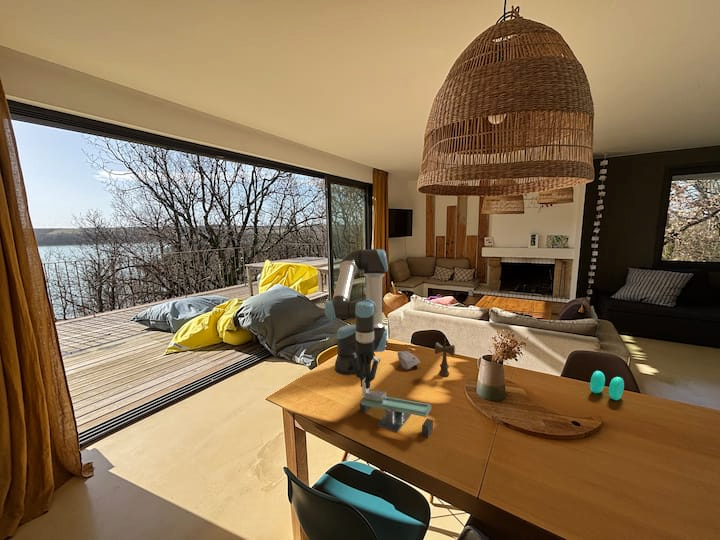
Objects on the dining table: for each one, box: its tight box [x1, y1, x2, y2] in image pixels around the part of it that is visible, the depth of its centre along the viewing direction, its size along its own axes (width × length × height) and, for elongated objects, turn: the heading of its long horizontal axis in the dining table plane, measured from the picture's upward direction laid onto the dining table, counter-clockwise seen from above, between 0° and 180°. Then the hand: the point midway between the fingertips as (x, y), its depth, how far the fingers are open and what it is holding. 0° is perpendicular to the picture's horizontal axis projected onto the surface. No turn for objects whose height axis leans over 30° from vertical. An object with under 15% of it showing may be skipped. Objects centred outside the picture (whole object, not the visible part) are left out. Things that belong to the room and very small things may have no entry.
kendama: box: [434, 337, 456, 377], centre depth 154 cm, size 6×10×20 cm, turn 67°
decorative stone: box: [397, 350, 421, 371], centre depth 167 cm, size 13×10×6 cm
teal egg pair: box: [589, 370, 625, 401], centre depth 134 cm, size 10×10×10 cm
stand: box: [359, 396, 434, 438], centre depth 119 cm, size 13×29×7 cm, turn 57°
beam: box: [360, 396, 433, 418], centre depth 118 cm, size 7×28×2 cm, turn 57°
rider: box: [365, 388, 388, 404], centre depth 122 cm, size 3×8×4 cm, turn 57°
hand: (365, 394), depth 125 cm, fingers closed
